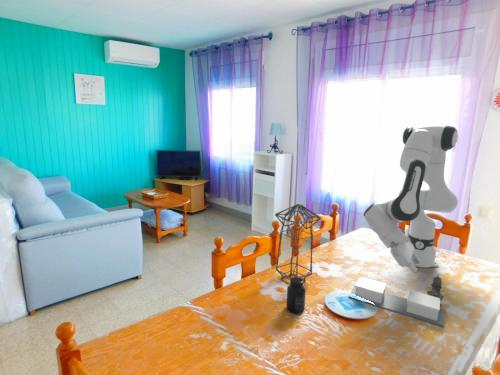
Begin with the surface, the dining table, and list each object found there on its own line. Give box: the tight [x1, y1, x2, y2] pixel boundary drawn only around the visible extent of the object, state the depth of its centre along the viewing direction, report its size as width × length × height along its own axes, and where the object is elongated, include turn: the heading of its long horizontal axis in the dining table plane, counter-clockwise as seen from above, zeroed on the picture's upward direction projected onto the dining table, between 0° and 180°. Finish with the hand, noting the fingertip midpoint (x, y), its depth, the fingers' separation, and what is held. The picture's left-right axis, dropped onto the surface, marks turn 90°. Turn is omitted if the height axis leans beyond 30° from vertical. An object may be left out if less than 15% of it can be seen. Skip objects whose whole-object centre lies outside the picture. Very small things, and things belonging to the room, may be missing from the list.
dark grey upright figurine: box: [426, 274, 444, 307], centre depth 124 cm, size 6×6×12 cm
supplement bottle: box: [286, 276, 307, 315], centre depth 117 cm, size 7×7×12 cm
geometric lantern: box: [274, 203, 323, 285], centre depth 137 cm, size 16×16×35 cm
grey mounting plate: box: [350, 276, 445, 328], centre depth 123 cm, size 12×33×5 cm, turn 58°
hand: (416, 267), depth 127 cm, fingers open, 8 cm apart
